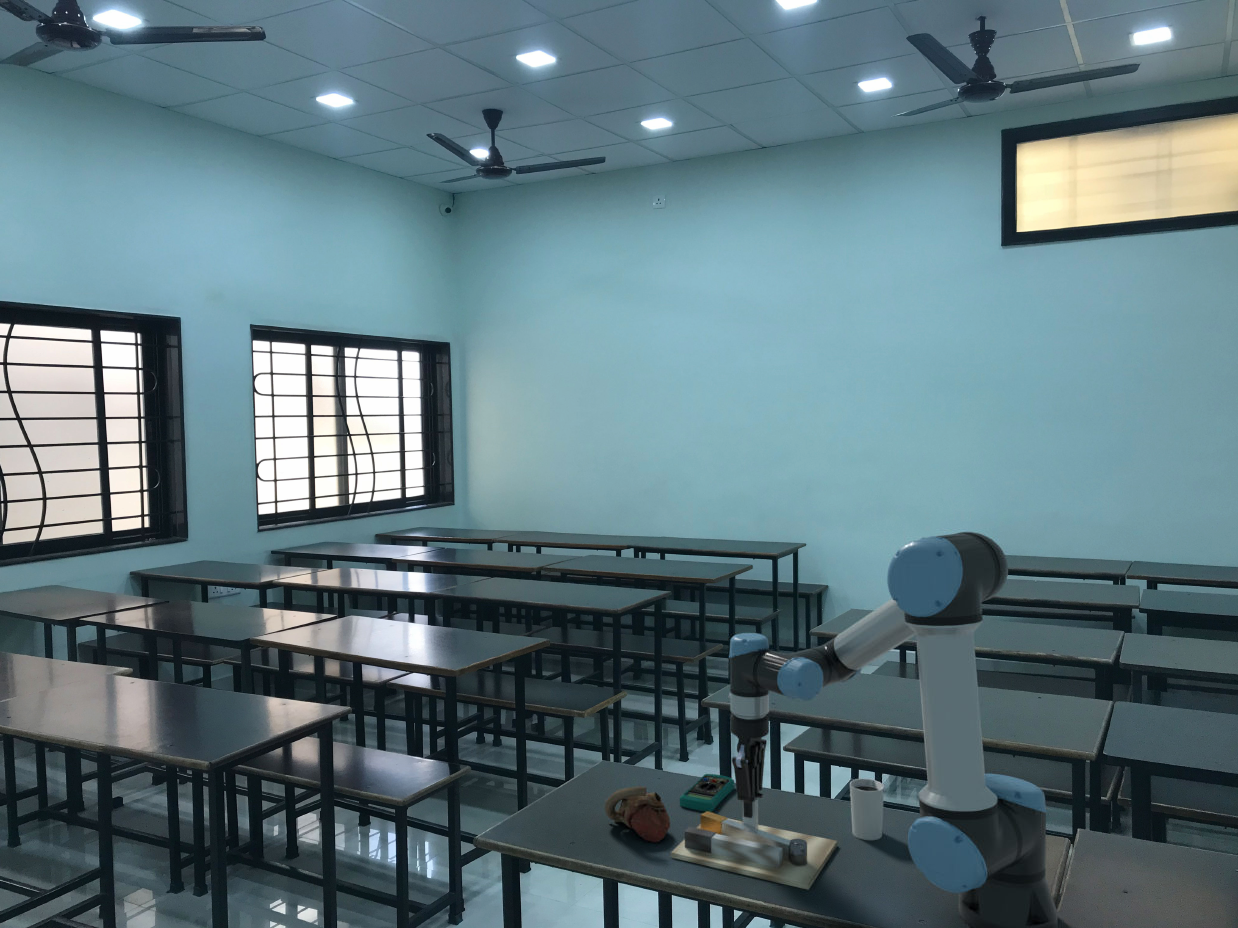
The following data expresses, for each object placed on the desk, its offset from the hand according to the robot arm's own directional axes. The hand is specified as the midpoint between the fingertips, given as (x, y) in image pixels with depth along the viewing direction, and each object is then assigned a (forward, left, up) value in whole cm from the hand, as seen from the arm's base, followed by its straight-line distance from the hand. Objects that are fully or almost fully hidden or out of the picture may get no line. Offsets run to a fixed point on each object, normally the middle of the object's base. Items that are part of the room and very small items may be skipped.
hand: (750, 830), depth 177 cm
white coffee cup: (-19, -15, -3) cm, 25 cm away
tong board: (-2, +2, -3) cm, 4 cm away
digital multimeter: (+17, -18, -4) cm, 25 cm away
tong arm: (-1, +2, -2) cm, 3 cm away
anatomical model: (+23, +4, -3) cm, 23 cm away
